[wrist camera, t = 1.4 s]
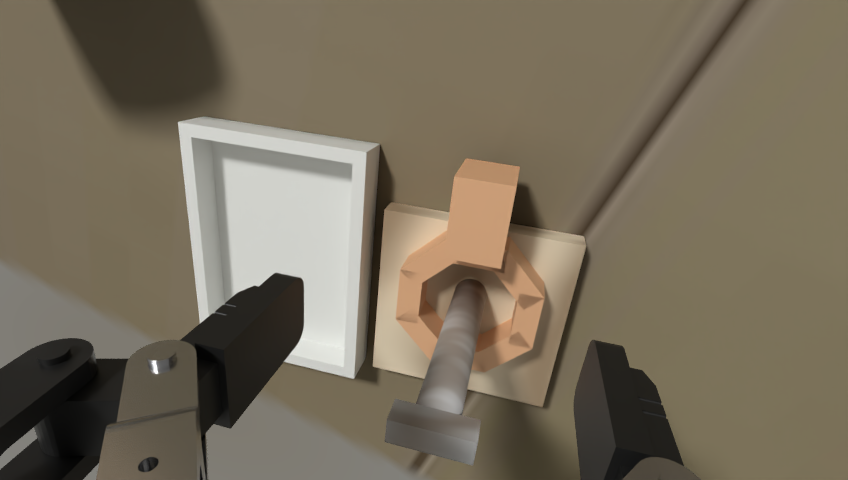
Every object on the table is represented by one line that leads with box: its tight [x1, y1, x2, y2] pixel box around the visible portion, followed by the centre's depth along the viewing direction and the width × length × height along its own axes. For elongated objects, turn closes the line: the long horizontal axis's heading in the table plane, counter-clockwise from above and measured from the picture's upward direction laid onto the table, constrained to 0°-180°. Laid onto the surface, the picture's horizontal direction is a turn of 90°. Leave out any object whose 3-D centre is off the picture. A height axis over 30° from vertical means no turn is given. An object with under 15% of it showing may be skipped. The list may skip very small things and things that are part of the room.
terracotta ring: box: [396, 158, 545, 372], centre depth 26 cm, size 8×13×4 cm
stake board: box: [373, 202, 586, 465], centre depth 25 cm, size 12×12×14 cm
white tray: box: [178, 116, 380, 379], centre depth 31 cm, size 12×16×2 cm
